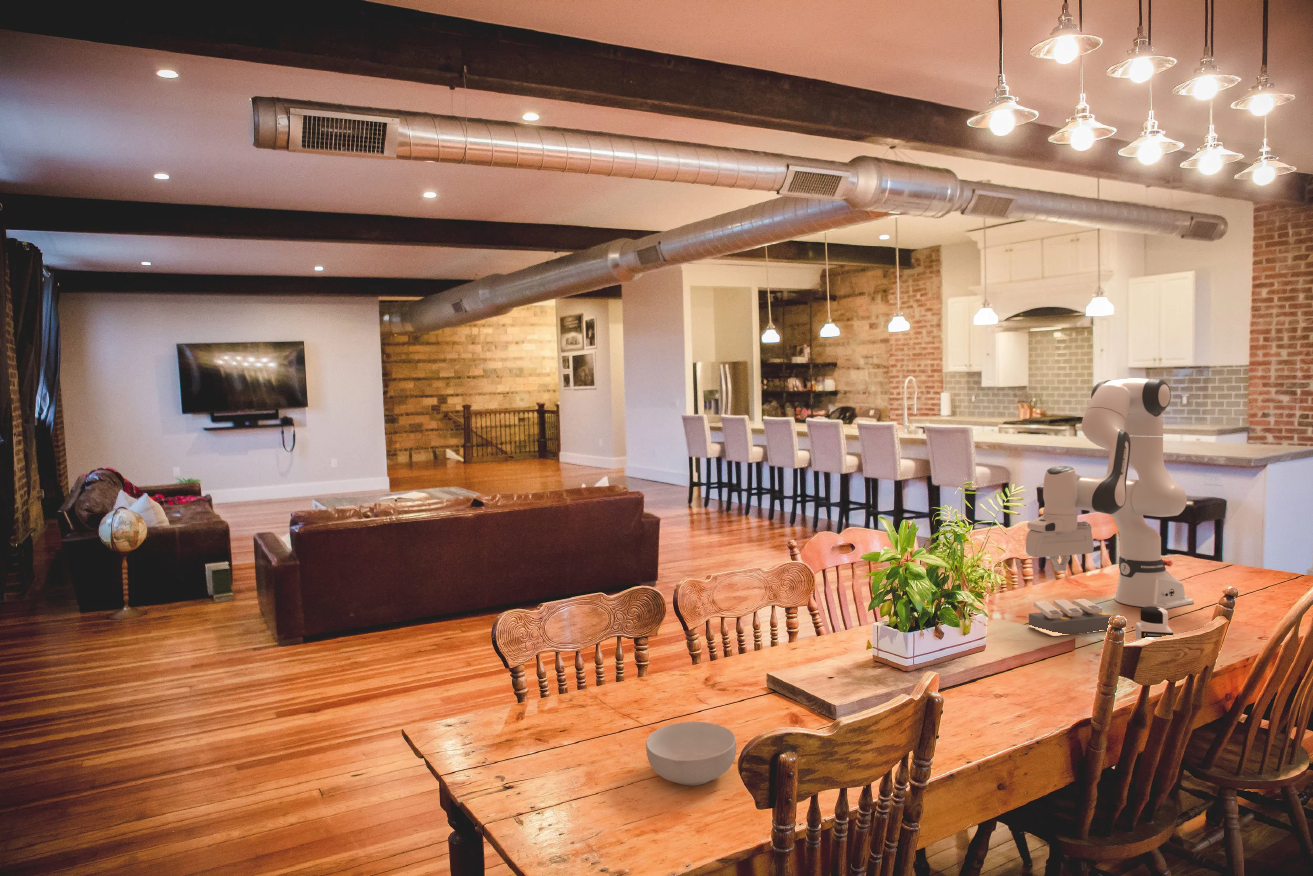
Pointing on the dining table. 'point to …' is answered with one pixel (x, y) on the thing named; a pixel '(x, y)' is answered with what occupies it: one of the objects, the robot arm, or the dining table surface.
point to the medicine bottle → (1153, 623)
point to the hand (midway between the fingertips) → (1060, 570)
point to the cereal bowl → (691, 752)
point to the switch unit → (1071, 622)
